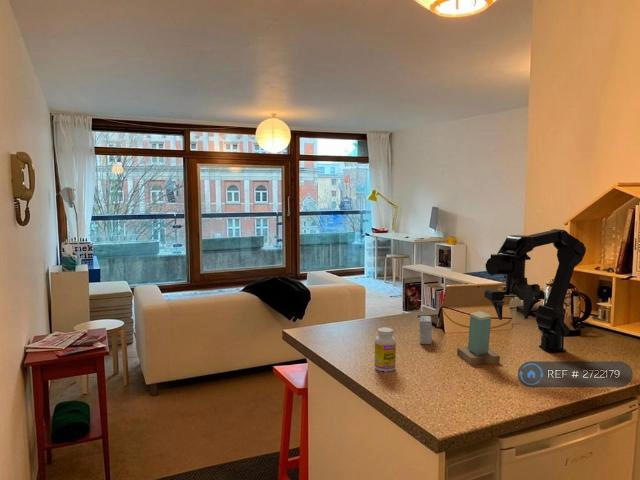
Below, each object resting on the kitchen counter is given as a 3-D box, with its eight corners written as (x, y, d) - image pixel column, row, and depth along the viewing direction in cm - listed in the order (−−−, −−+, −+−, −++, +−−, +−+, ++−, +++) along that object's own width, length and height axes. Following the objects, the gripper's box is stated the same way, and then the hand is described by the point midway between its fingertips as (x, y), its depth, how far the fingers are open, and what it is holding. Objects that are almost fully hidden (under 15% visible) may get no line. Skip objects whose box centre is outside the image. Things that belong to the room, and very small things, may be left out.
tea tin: (478, 347, 160) (480, 311, 158) (488, 352, 156) (491, 315, 154) (467, 349, 158) (470, 313, 156) (477, 355, 154) (480, 318, 152)
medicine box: (431, 344, 172) (432, 321, 171) (419, 344, 173) (419, 321, 172) (431, 337, 180) (431, 315, 179) (419, 337, 181) (419, 315, 180)
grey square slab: (484, 354, 163) (484, 345, 163) (499, 364, 153) (499, 355, 153) (457, 356, 162) (457, 347, 161) (470, 366, 152) (471, 358, 152)
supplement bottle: (382, 374, 146) (382, 334, 144) (370, 367, 152) (370, 328, 150) (399, 370, 149) (400, 330, 147) (387, 363, 155) (387, 325, 153)
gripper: (502, 278, 146) (499, 327, 148) (556, 277, 149) (553, 325, 151) (484, 272, 157) (482, 317, 159) (535, 271, 160) (533, 316, 161)
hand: (513, 319), depth 157 cm, fingers open, 9 cm apart
